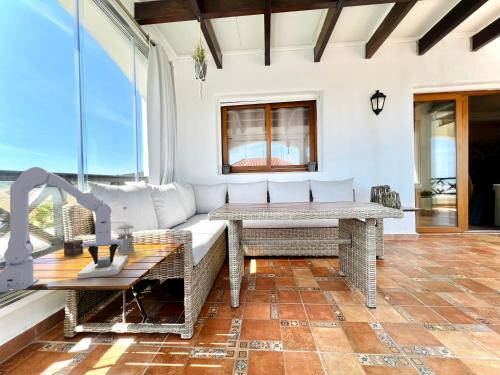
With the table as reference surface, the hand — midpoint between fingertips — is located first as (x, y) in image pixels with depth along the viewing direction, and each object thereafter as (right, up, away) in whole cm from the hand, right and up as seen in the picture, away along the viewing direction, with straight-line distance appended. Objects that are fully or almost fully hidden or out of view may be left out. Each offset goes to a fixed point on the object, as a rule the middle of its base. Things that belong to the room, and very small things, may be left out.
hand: (104, 262), depth 101 cm
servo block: (0, -3, 0) cm, 3 cm away
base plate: (-1, -3, +2) cm, 4 cm away
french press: (-5, -3, +28) cm, 28 cm away
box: (-31, -4, +24) cm, 40 cm away
